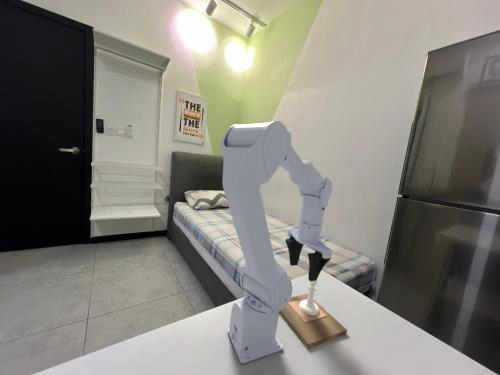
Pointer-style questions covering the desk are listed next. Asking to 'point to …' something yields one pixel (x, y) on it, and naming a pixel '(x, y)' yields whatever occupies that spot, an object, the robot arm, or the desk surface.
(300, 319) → the walnut board
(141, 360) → the desk surface
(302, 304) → the chess piece
